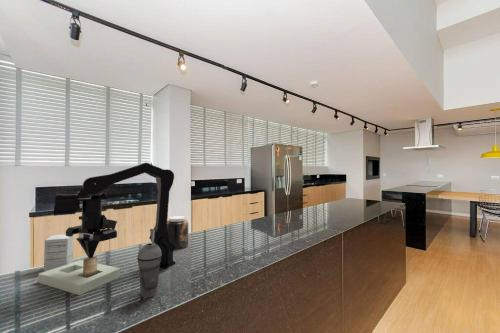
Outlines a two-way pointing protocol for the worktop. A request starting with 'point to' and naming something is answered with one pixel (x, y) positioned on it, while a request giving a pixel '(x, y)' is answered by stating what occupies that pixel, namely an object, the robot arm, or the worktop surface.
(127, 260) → the worktop surface
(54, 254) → the supplement box
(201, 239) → the worktop surface
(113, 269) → the board
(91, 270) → the peg
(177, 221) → the jar
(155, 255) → the beverage cup
